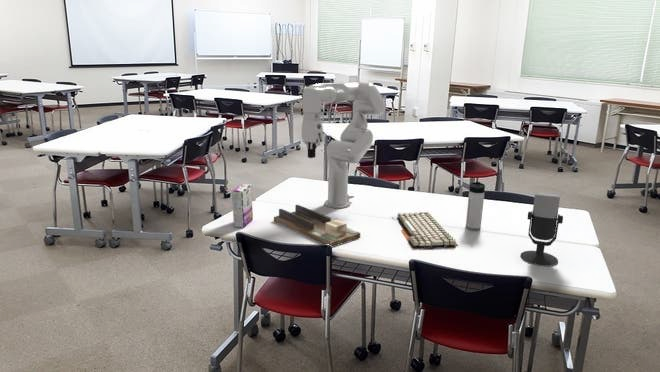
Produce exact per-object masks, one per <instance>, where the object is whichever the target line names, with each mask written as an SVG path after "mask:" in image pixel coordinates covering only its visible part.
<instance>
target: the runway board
mask: <svg viewBox="0 0 660 372" xmlns="http://www.w3.org/2000/svg"><path fill="white" fill-rule="evenodd" d="M330 221H332V217H330V216H328V215H325V214H323V213H320V212H317V211H314V210H313V209H309V208H308V207H305V206H302V205H301V204H295V211H291V212H290V211H288V210H285V209H283V208H278V215H275V216H274V217H273V222H275V223H278V224H279V225H281V226H283V227H286V228H288V229H290V230H291V231H292V230H293V231H294V232H296V233H298V234H301V235H303V236H305V237H307V238H310V239H311V240H314V241H316V242H319V243H320V244H322V243H323V244H322V245H324V244H329V245H331V246H334V247H336V246H335V245H337V246H339V245H338V244H340V245H342V244H341V243H343V244H345V243H344V242H346V243H349V242H351V240H352V241H355V240H357V239H361V232H359V231H357V230H355V229H352V228H349V227H347V230H346V235H342V236H339V237H336V238H335V237H333V236H330V235H328V234H326V233H325V229H326V223H327V222H330ZM348 241H349V242H348Z"/></svg>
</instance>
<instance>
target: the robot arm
mask: <svg viewBox="0 0 660 372" xmlns="http://www.w3.org/2000/svg"><path fill="white" fill-rule="evenodd" d="M302 93H303V95H302V104H303V105H302V107H303V109H302V112H303V113H302V118H303V119H302V121H301V122H302V124H301V140H302V142H303V144H305V145H306V149H307V158H308V159H313V158H316V149H317V147H321V143H323V142H324V129H323V128H324V127H323V121H322V119H321V118H322V117H321V110H322V109H321V108H322V107H321V106H322V104H332V103H333V102H336V103H339V102H340V103H342V102H351V101H353V103H352V119H351V121H350V122H349V124H348V125H347V126H346V127H345V128H344V129H343V130H342V133H341V134H340V137H339V140H331V141H330V142H329V143H328V144H327V146H326V157H327V158H326V159H327V163H328V169H327V170H328V171H327V172H328V179H327V199H326V200H324V205H325V206H326V207H328V208H333V209H342V208H343V209H344V208H348V207H350V206H351V201H350V199H354V198H355V195H354V194H353V193H351V194H348V190H349V189H348V186H349V185H348V184H349V168H348V165H347V164H357V163H359V162H360V161H361V159H362V158H363V157H364V156H365V155H366V153H367V152H368V151H369V149H370V148H371V146H372V143H373V141H374V135H373V132H372V131H371V130H370V129H368V126H369V125H368V124H369V123H368V121H367V118H366V115H367V116H375V117H378V116H379V117H380V116H382V115H384V113H385V111H386V103H385V100H384V98H383V96H382V94H381V93H380V91H379V90H378V88H377V86H375V85H374V84H373V83H370V82H359V81H354V82H353V81H352V82H350V81H349V82H338V83H337V82H336V83H323V84H321V83H319V84H310V85H308V86H307V87H304V88H303V92H302Z"/></svg>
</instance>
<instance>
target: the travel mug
mask: <svg viewBox="0 0 660 372" xmlns="http://www.w3.org/2000/svg"><path fill="white" fill-rule="evenodd" d="M485 189H486V185H485V184H484V183H482V182H480V181H475V182H471V183H470V184H469V189H468V198H467V199H468V202H467V208H466V210H467V211H466V218H465V219H466V220H465V228H466V229H467V230H469V231H473V232H474V231H480V230H481V228H482V227H481V226H482V220H483V219H482V218H483V210H484V203H485V202H484V200H485Z"/></svg>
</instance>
